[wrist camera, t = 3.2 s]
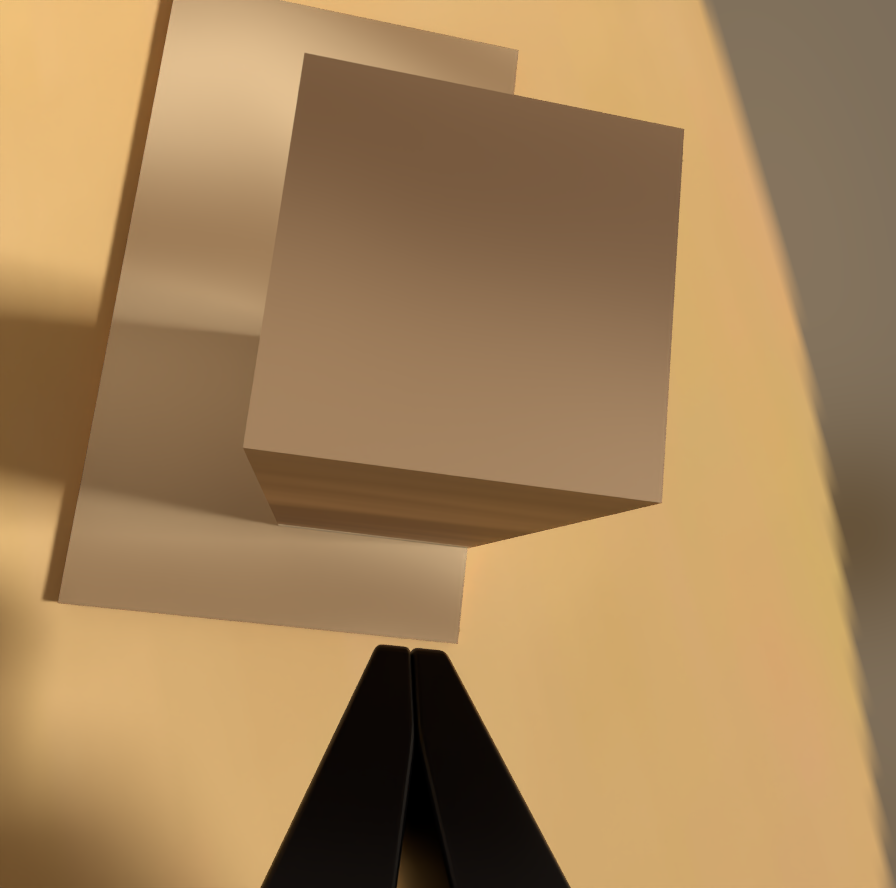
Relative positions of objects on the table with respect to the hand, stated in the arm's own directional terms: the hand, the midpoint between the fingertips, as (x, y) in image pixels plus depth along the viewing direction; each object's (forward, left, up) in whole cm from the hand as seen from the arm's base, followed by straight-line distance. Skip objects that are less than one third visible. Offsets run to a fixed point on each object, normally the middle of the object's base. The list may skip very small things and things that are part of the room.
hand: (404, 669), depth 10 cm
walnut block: (+4, 0, -7) cm, 8 cm away
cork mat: (+7, +2, -8) cm, 11 cm away
